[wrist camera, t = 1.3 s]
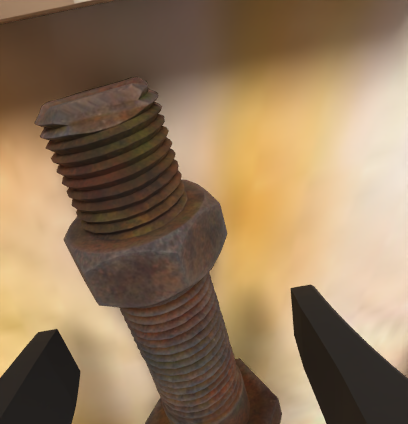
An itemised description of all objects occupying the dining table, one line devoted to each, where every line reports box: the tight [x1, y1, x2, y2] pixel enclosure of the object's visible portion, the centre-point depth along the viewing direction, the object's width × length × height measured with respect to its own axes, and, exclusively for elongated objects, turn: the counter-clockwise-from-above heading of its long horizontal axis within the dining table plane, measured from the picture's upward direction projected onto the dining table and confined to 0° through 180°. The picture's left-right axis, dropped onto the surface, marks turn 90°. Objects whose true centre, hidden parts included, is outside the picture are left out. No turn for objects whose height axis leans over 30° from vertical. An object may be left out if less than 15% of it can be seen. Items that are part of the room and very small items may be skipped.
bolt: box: [35, 77, 282, 424], centre depth 13 cm, size 6×5×15 cm
